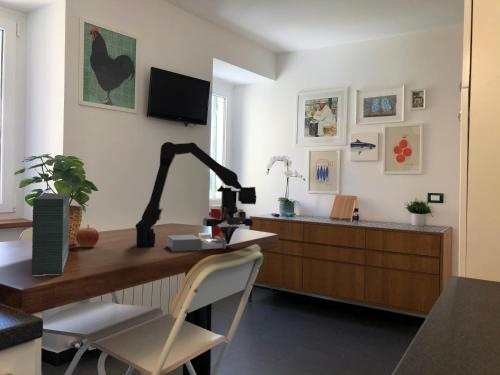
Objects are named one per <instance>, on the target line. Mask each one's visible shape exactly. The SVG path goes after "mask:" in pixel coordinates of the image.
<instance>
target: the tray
mask: <svg viewBox="0 0 500 375" xmlns="http://www.w3.org/2000/svg"><path fill="white" fill-rule="evenodd" d="M214 239H216V240H218V243H212V244H202V250H211V249H227V244H226V240H225V239H224V238H220V237H218V236H215V238H214Z"/></svg>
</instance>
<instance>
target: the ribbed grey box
mask: <svg viewBox="0 0 500 375" xmlns="http://www.w3.org/2000/svg"><path fill="white" fill-rule="evenodd" d="M31 234H32V237H31V239H32V240H31V242H32V243H31V245H32V246H31V252H32V253H31V256H32V257H31V276H32V275H43V274H62V272H63V273H64V270H65V267H66V264H67V261H68V257H69V249H70V248H69V246H70V245H69V243H70V242H69V238H70V237H69V236H70V235H69V234H70V193H52V192H51V193H49V192H48V193H44V194H41V195H39V196H36V197H33V198H32V233H31ZM65 263H66V264H65ZM64 266H65V267H64ZM63 269H64V270H63ZM62 275H63V274H62Z"/></svg>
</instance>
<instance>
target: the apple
mask: <svg viewBox="0 0 500 375" xmlns="http://www.w3.org/2000/svg"><path fill="white" fill-rule="evenodd" d="M89 226H90V225H89V224H87V227H80V228H79V229H78V230H77V231H76V233H75V236H74V238H75V241H76V243H77V245H78V246H80V247H81V248H82V247H83V248H91V247H94V246H96V245H97V243H98V242H99V240H100V234H99V233H100V232H98V230H97V229H96V228H93V227H89Z"/></svg>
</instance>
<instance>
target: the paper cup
mask: <svg viewBox="0 0 500 375" xmlns="http://www.w3.org/2000/svg"><path fill="white" fill-rule="evenodd" d="M220 216H221V204H211V205H210V218H216V219H217V220H221V219H220ZM217 225H218V224H217ZM217 225H216V226H210V230H211V238H214V239H215V236H218V237H220V238H222V239H224V236H223V234H222V231H221V229H220V228H219V227H217Z"/></svg>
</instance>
